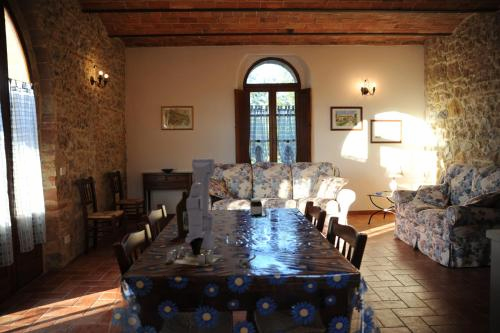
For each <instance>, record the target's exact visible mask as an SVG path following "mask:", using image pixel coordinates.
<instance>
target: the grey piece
mask: <svg viewBox="0 0 500 333" xmlns="http://www.w3.org/2000/svg"><path fill="white" fill-rule="evenodd" d="M186 253H187V252H186V247H185V246H179V247H178V249H176V248H175V249H174V248H173V249H170V250H169V251H167V252H166V259H167V260H166V261H167V262H168V264H174V263H173V262H175V260H177V256H178V255H179V257H180V258H183V257H186ZM213 255H214V249H210V250H205V253H204V254H198V265H197V266H200V265H205V264H209V265H211V264H213V262H212V260H213ZM167 262H166V263H167Z"/></svg>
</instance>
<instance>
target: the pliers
mask: <svg viewBox="0 0 500 333" xmlns="http://www.w3.org/2000/svg"><path fill="white" fill-rule="evenodd" d="M256 257H257V256H256V254H255V253H253V257H251V258H249V259H247V260H242V259H240V260H239V262H240V263H239V267H240V268H241V269H242V268H243V267H244V265H245V266H246V268H249V267H250V266H251V264H250V262H251V261H252V260H254V259H255V258H256Z"/></svg>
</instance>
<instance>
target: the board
mask: <svg viewBox="0 0 500 333" xmlns="http://www.w3.org/2000/svg"><path fill="white" fill-rule="evenodd" d="M223 256H224V255H223V254H222V255H220V254H213V260H212V263H214V262H216V261H217V260H219V259H220V258H221V257H223ZM165 263H168V262H167V260H166V261H165ZM168 264H169V263H168ZM172 264H179V265H189V266H191V265H192V266H202V267H208V266H209V265H210V264H205V265H198V257H195V255H194V254H193V252H186V257H183V258H180V257H179V254H177V260H175V262H173V263H172Z"/></svg>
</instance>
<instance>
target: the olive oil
mask: <svg viewBox="0 0 500 333" xmlns="http://www.w3.org/2000/svg"><path fill="white" fill-rule="evenodd" d="M181 192H182V194H181V199H180V200H179V201H178V203H177V204H176V206H175V214H176V226H177V227H176V228H177V237H178V238H180V237H182V238H183V239H185V238H186V237H187V234H189V216H188V213H187V207H186V201H187V198H189V191H188V190H183V191H181Z"/></svg>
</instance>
